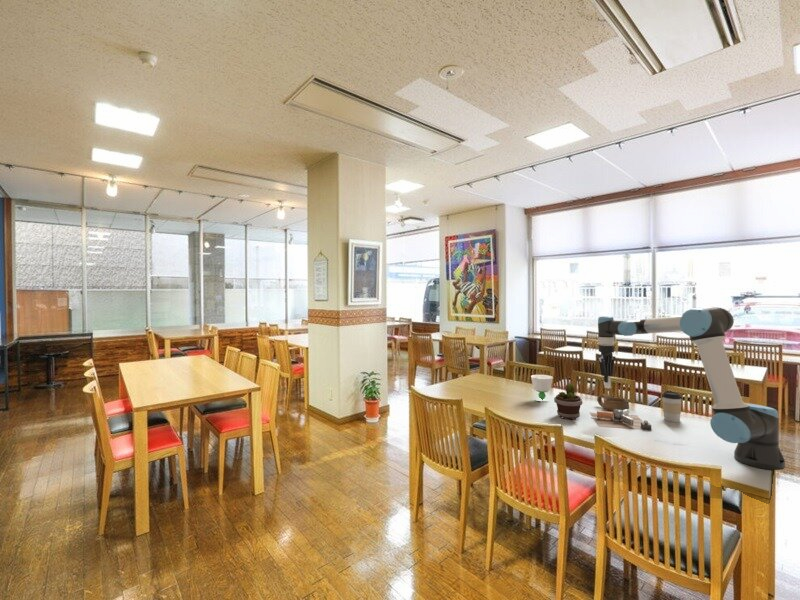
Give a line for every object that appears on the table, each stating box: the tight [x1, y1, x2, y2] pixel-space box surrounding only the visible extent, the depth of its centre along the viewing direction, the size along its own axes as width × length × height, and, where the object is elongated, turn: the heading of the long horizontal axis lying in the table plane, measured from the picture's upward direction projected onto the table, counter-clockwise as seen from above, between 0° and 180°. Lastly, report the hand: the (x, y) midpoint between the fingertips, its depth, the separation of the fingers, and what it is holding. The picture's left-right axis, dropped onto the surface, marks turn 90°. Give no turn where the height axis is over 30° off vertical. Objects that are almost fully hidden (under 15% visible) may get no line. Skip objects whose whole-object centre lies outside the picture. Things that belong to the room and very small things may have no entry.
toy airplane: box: [589, 412, 652, 431], centre depth 203 cm, size 24×25×6 cm
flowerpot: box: [553, 382, 583, 420], centre depth 215 cm, size 14×15×20 cm
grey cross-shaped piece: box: [596, 409, 633, 426], centre depth 203 cm, size 16×18×6 cm
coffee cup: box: [661, 390, 683, 423], centre depth 207 cm, size 9×9×15 cm
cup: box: [530, 374, 554, 400], centre depth 249 cm, size 14×14×16 cm
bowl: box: [596, 393, 630, 413], centre depth 224 cm, size 18×14×10 cm
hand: (607, 387), depth 206 cm, fingers closed
